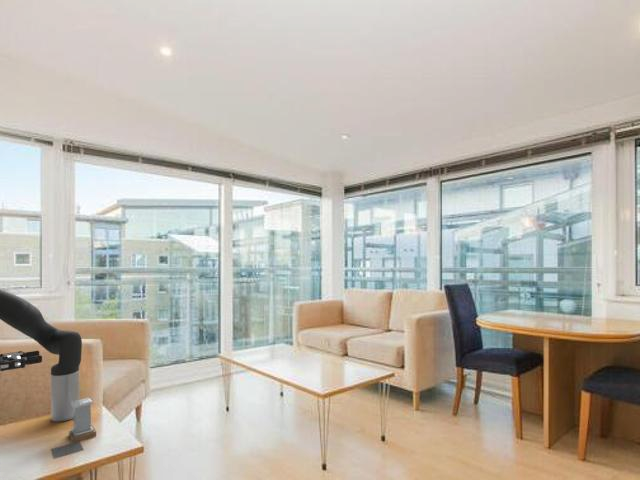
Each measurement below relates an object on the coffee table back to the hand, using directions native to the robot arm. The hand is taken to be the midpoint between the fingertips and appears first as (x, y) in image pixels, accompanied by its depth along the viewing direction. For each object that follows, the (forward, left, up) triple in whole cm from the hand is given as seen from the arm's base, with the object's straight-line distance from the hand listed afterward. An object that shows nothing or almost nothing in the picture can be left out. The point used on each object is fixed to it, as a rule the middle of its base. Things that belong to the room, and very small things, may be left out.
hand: (40, 356), depth 130 cm
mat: (+8, +6, -30) cm, 32 cm away
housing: (0, +12, -28) cm, 30 cm away
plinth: (0, +12, -30) cm, 32 cm away
